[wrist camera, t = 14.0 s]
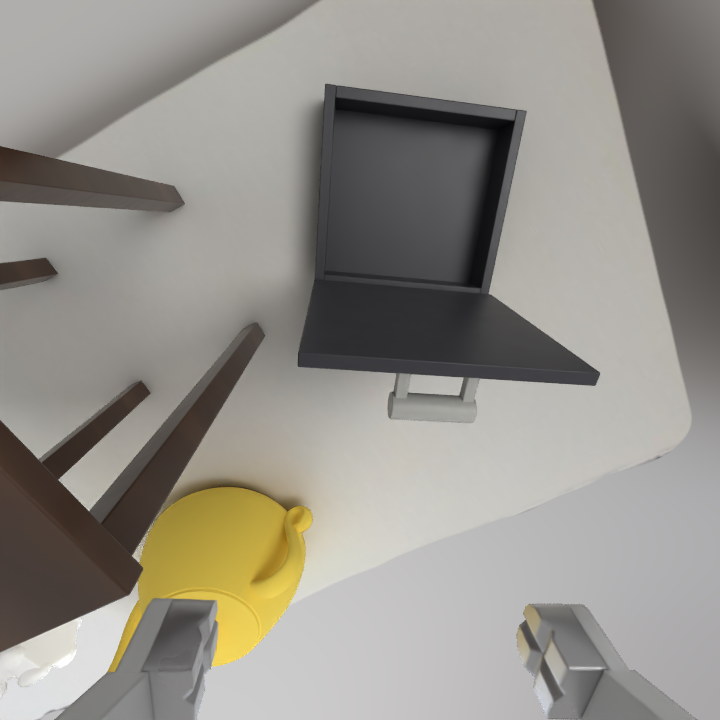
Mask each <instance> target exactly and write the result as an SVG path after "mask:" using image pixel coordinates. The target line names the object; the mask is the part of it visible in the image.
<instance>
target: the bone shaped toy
mask: <svg viewBox="0 0 720 720" xmlns="http://www.w3.org/2000/svg"><path fill="white" fill-rule="evenodd" d="M81 623H82V616H81V617H79V618H77V619H74V620H72V621H70V622H68V623H65V624H63V625H61V626H59V627H56V628H54V629H52V630H50V631H47V632H45V633H43V634H41V635H38V636H36V637H34V638H32V639H29V640H27V641H25V642H23V643H20V644H18V645H16V646H14V647H11V648H9V649H7V650H5V651H2V652H0V700H1V699H2V698H3V696H4V694H5V693H6V690H7V681H8V680H10V679H11V678H13V677H16V678H18V685H19V686H20V687H28V686H31V685H33V684H35V683H37V682H38V681H40V680H41V679H42V678H44V677H45V676H46V674H47V673H48V672H49V670H50V668H51V667H53V668H61V667H64V666H65V665H67V664H68V663H69V662H70V661H71V660H72V659H73V657H74V656H75V654H76V650H77V646H76V637H77V630H78V628H79V626H80V625H81Z"/></svg>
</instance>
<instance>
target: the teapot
mask: <svg viewBox="0 0 720 720" xmlns="http://www.w3.org/2000/svg"><path fill="white" fill-rule="evenodd" d="M312 520H313V518H312V513H311V511H310V510H309V509H308V508H307V507H304V506H296V507H293V508H292V509H290V510H289V511H288V512H287V511H286V510H285V509H284V508H283V507H282V506H281V505H279V504H278V503H277V502H275V501H274V500H272V499H271V498H269V497H267V496H265V495H263V494H261V493H258V492H255V491H252V490H249V489H244V488H237V487H219V488H211V489H206V490H202V491H198V492H195V493H192V494H189V495H187V496H185V497H183V498H181V499H180V500H178V501H177V502H175V503H174V504H172V505H171V506H169V507H168V508H167V509H166V510H165V511H164V512H163V513H162V514H161V515H160V516H159V517H158V519H157V520H156V521H155V523H154V525H153V527H152V529H151V530H150V532H149V534H148V537H147V539H146V542H145V545H144V548H143V551H142V555H141V559H140V565H141V566H142V567H143V571H142V573H141V575H140V577H139V579H138V591H139V601H138V602H137V603H136V605H135V607H134V608H133V610H132V612H131V614H130V616H129V619H128V621H127V623H126V626H125V629H124V631H123V634H122V637H121V640H120V643H119V646H118V649H117V652H116V654H115V657H114V659H113V662H112V664H111V666H110V667H109V669H108V671H107V672H115V670H116V668H117V666H118V664H119V662H120V660H121V658H122V656H123V654H124V652H125V650H126V648H127V646H128V644H129V642H130V640H131V638H132V636H133V634H134V632H135V630H136V628H137V626H138V624H139V622H140V620H141V618H142V616H143V614H144V612H145V610H146V608H147V606H148V604H149V603H150V602H151V601H152V599H153V598H175V599H198V600H217V606H218V611H217V614H216V618H215V620H216V621H217V622H218V638H217V644H216V650H215V655H214V659H213V662H212V666H219V665H223V664H227V663H230V662H233V661H235V660H237V659H239V658H241V657H243V656H244V655H246V654H247V653H248V652H250V651H251V650H252V649H253V648H254V647H255V646H256V645H257V644H258V643H259V642H260V641H261V640H262V639H263V638H264V637H265V636H266V635H267V633H268V632H269V631H270V630H271V628H272V627H273V626H274V625H275V624H276V623H277V621H278V620H279V619H280V617H281V616H282V615H283V613H284V612H285V610H286V609H287V607H288V605H289V604H290V602H291V600H292V598H293V596H294V594H295V592H296V590H297V587H298V585H299V582H300V579H301V575H302V572H303V568H304V562H305V543H304V538H303V536H302V533H301V532H304V531H306V530H307V529H308V528H309V527H310V525H311V524H312Z"/></svg>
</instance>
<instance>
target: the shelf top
mask: <svg viewBox="0 0 720 720" xmlns="http://www.w3.org/2000/svg"><path fill="white" fill-rule="evenodd" d="M142 571H143V567H142V566H141V565H140V564H139V563H138V562H137V561H136V560H135V559H134V558H133V557H132V556H131V555H130V554H129V552H128V551H127V550H126V549H125V548H124V547H123V546H122V545H121V544H120V543H119V542H118V541H117V540H116V539H115V538H114V537H113V536H112V535H111V534H110V533H109V532H108V531H107V530H106V529H105V528H104V527H103V526H102V525H101V524H100V523H99V522H98V520H97V519H96V518H95V517H94V516H93V515H92V514H91V513H90V512H89V511H88V510H87V509H86V508H85V507H84V506H83V505H82V504H81V503H80V502H79V501H78V500H77V499H76V498H75V497H74V496H73V495H72V494H71V493H70V492H69V491H68V490H67V489H66V487H65V486H64V485H63V484H62V483H61V482H60V481H59V480H58V479H57V478H56V477H55V476H54V475H53V474H52V473H51V472H50V471H49V470H48V469H47V468H46V467H45V466H44V465H43V464H42V463H41V462H40V461H39V460H38V459H37V458H36V457H35V455H34V454H33V453H32V452H31V451H30V450H29V449H28V448H27V447H26V446H25V445H24V444H23V443H22V442H21V441H20V440H19V439H18V438H17V437H16V436H15V435H14V434H13V433H12V432H11V431H10V430H9V429H8V428H7V427H6V426H5V425H4V423H3V422H2V421H1V420H0V652H2V651H5V650H7V649H9V648H11V647H14V646H16V645H18V644H20V643H23V642H25V641H27V640H29V639H32V638H34V637H36V636H38V635H41V634H43V633H45V632H47V631H50V630H52V629H54V628H56V627H59V626H61V625H63V624H65V623H68V622H70V621H72V620H74V619H77V618H79V617H81V616H83V615H86V614H88V613H90V612H92V611H95V610H97V609H99V608H101V607H104V606H106V605H108V604H110V603H113V602H115V601H117V600H119V599H122V598H124V597H126V596H128V595H129V594H130V593H131V592H132V590H133V588H134V586H135V584H136V582H137V581H138V579H139V577H140V575H141V573H142Z"/></svg>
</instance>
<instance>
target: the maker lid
mask: <svg viewBox="0 0 720 720" xmlns="http://www.w3.org/2000/svg"><path fill="white" fill-rule="evenodd" d="M298 367H309V368H324V369H340V370H356V371H371V372H387V373H397V374H396V380H395V386H394V392H390V394H389V398H388V416H389V419H399V420H418V421H438V422H457V423H473V422H474V420H475V418H476V413H477V406H476V401H475V399H474V398H475V394H476V390H477V387H478V383H479V379H480V378H481V379H497V380H512V381H528V382H544V383H559V384H575V385H591V386H595V385H596V383H597V380H598V378H599V376H600V372H598V371H597V370H596V369H594V368H593V367H591V366H590V365H589V364H587V363H586V362H584V361H583V360H582V359H580V358H579V357H577V356H576V355H575V354H573V353H572V352H570V351H569V350H568V349H566V348H565V347H563V346H562V345H561V344H559V343H558V342H556V341H555V340H554V339H552V338H551V337H549V336H548V335H547V334H545V333H544V332H542V331H541V330H540V329H538V328H537V327H535V326H534V325H533V324H531V323H530V322H528V321H527V320H526V319H524V318H523V317H521V316H520V315H519V314H517V313H516V312H514V311H513V310H512V309H510V308H509V307H507V306H506V305H505V304H503V303H502V302H500V301H499V300H498V299H496V298H495V297H493V296H492V295H490V294H479V293H467V292H455V291H444V290H432V289H420V288H409V287H397V286H385V285H374V284H362V283H351V282H339V281H327V280H316V279H315V280H314V285H313V289H312V294H311V298H310V303H309V307H308V312H307V316H306V320H305V325H304V329H303V334H302V338H301V343H300V347H299V352H298ZM411 374H418V375H434V376H450V377H464V379H463V383H462V387H461V391H460V396H454V395H438V394H421V393H408V388H409V382H410V376H411Z"/></svg>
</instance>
